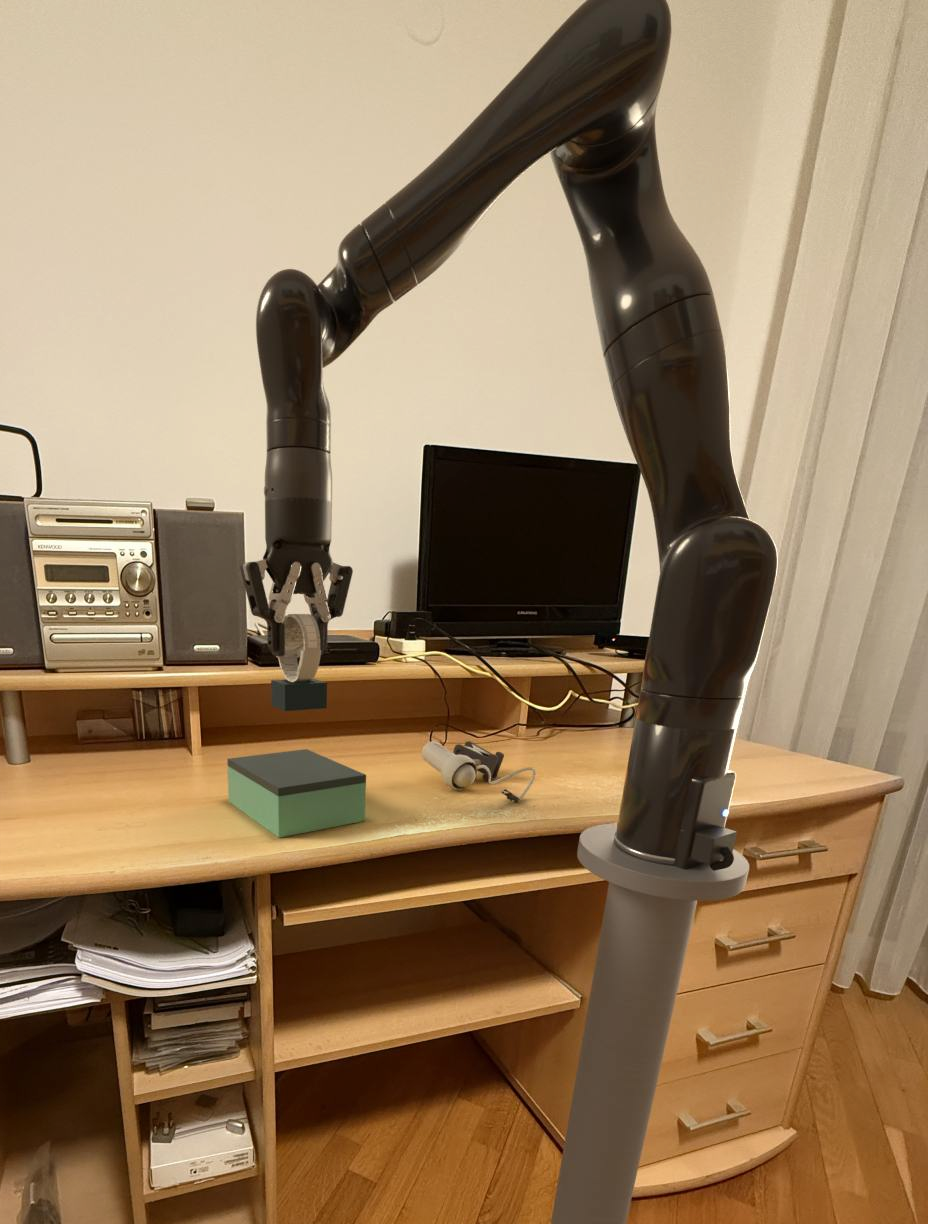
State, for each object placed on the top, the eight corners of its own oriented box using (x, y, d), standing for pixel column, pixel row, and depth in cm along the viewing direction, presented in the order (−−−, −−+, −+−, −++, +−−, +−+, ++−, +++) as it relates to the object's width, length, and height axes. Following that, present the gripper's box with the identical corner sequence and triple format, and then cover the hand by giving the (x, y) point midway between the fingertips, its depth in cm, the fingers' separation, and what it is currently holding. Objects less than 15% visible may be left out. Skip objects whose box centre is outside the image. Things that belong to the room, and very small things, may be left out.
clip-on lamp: (544, 817, 90) (465, 761, 104) (560, 777, 87) (478, 725, 101) (483, 822, 84) (408, 762, 98) (498, 780, 81) (419, 724, 95)
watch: (305, 700, 83) (305, 612, 79) (333, 710, 76) (335, 615, 72) (265, 703, 80) (263, 612, 77) (290, 713, 73) (290, 615, 70)
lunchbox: (364, 820, 79) (366, 774, 77) (278, 837, 73) (278, 788, 71) (306, 789, 91) (306, 748, 89) (228, 801, 85) (227, 758, 83)
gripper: (253, 489, 64) (256, 660, 69) (370, 501, 71) (364, 655, 76) (225, 497, 70) (230, 654, 76) (335, 507, 77) (332, 650, 83)
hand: (298, 654), depth 76 cm, fingers closed on watch, 4 cm apart
